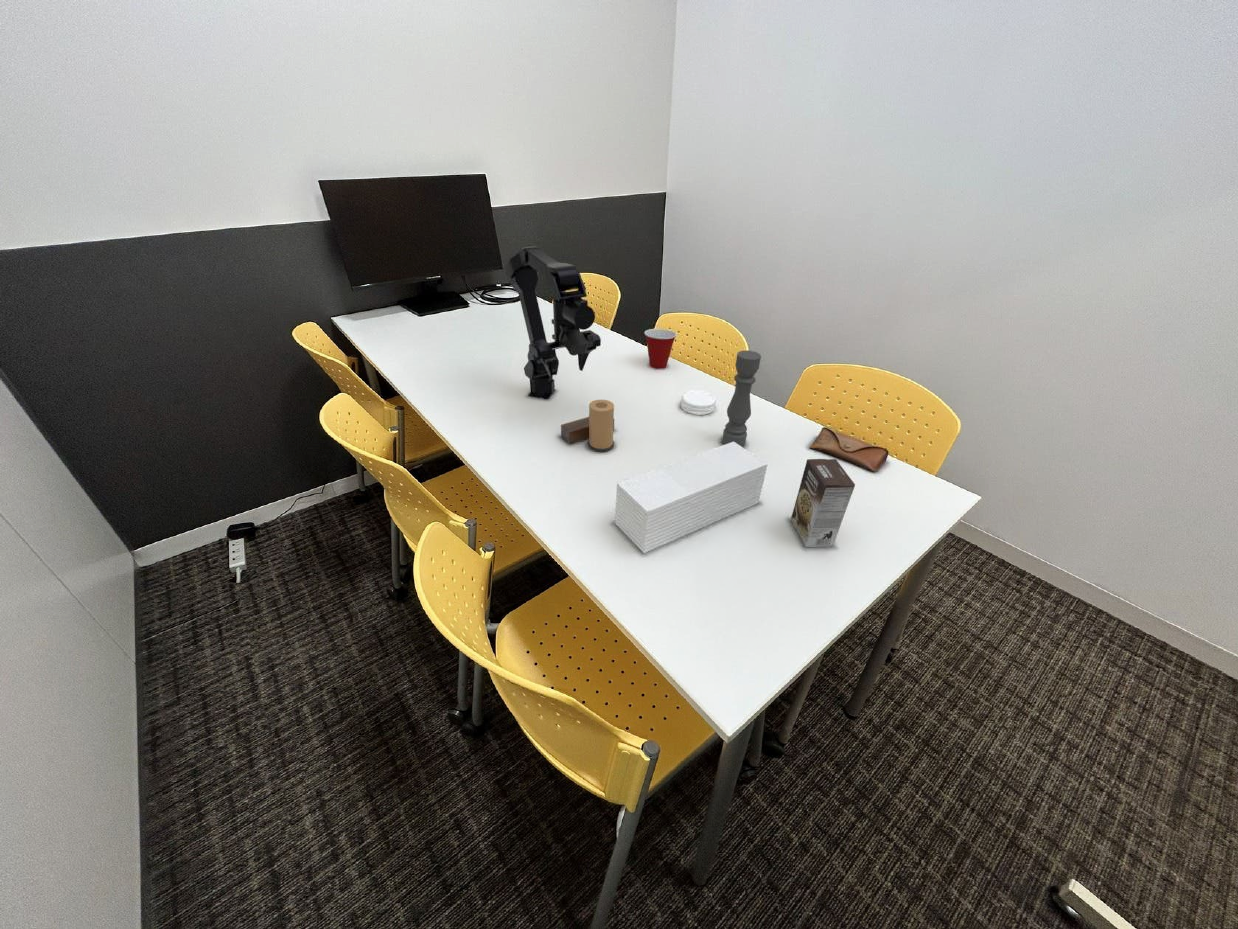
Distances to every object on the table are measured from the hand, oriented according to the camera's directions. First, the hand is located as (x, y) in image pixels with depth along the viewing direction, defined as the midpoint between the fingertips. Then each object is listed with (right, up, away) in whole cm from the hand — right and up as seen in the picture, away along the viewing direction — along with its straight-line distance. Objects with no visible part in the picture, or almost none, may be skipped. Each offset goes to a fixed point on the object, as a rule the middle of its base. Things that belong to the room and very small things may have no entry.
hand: (566, 373), depth 145 cm
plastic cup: (+28, +9, +39) cm, 49 cm away
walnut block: (+6, -16, -1) cm, 17 cm away
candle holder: (+45, -19, -2) cm, 49 cm away
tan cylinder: (+7, -16, -3) cm, 18 cm away
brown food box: (+55, -39, -31) cm, 75 cm away
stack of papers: (+30, -36, -27) cm, 54 cm away
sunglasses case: (+74, -22, -5) cm, 78 cm away
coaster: (+38, -8, +14) cm, 41 cm away
